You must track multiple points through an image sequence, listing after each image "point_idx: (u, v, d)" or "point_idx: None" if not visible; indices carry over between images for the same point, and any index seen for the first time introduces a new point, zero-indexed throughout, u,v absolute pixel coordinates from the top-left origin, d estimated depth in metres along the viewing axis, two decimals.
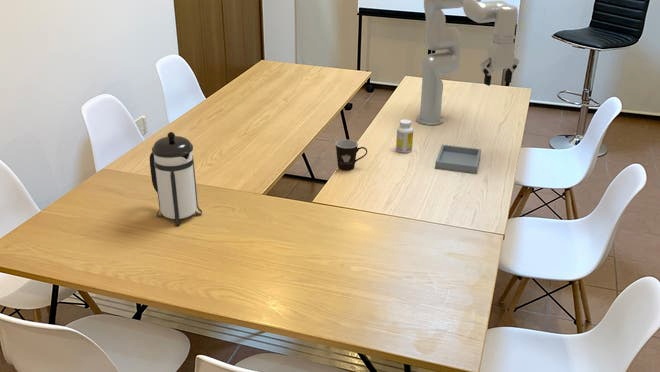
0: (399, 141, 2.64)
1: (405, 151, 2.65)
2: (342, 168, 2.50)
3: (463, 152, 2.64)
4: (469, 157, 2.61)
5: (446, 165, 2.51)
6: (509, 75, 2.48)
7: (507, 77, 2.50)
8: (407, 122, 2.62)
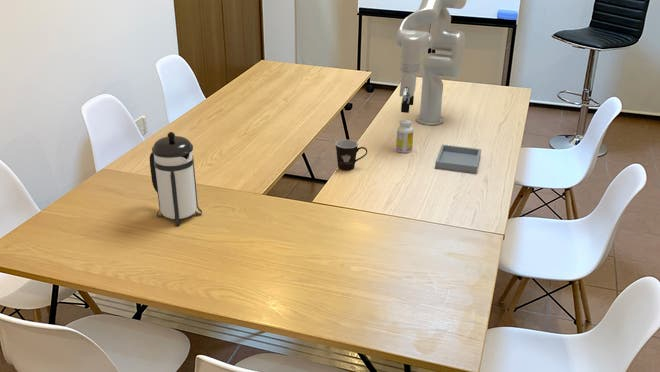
0: (399, 141, 2.64)
1: (405, 151, 2.65)
2: (342, 168, 2.50)
3: (463, 152, 2.64)
4: (469, 157, 2.61)
5: (446, 165, 2.51)
6: (411, 98, 2.62)
7: (409, 100, 2.63)
8: (407, 122, 2.62)
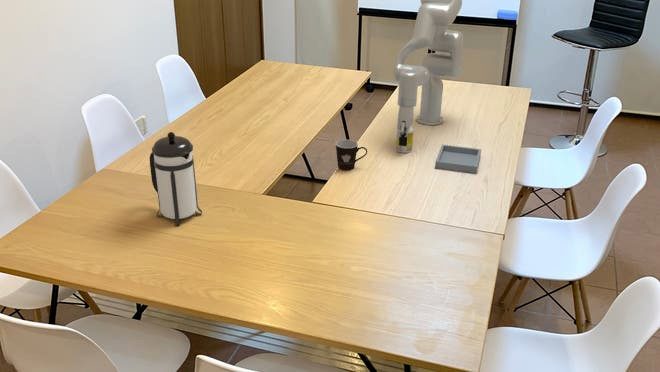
0: None
1: (405, 151, 2.65)
2: (342, 168, 2.50)
3: (463, 152, 2.64)
4: (469, 157, 2.61)
5: (446, 165, 2.51)
6: None
7: None
8: None
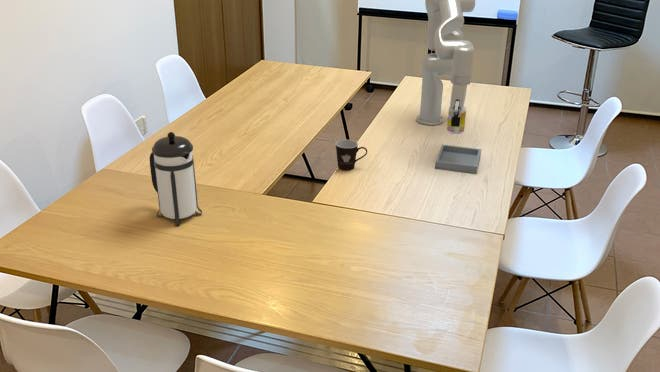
0: None
1: (457, 132, 2.50)
2: (342, 168, 2.50)
3: (463, 152, 2.64)
4: (469, 157, 2.61)
5: (446, 165, 2.51)
6: None
7: None
8: None
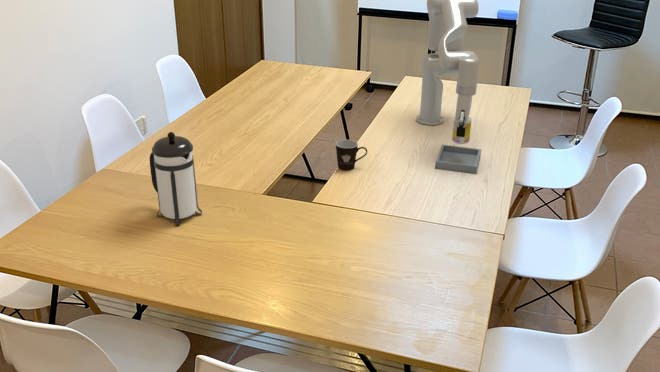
0: None
1: (462, 142, 2.51)
2: (342, 168, 2.50)
3: (463, 152, 2.64)
4: (469, 157, 2.61)
5: (446, 165, 2.51)
6: None
7: None
8: None
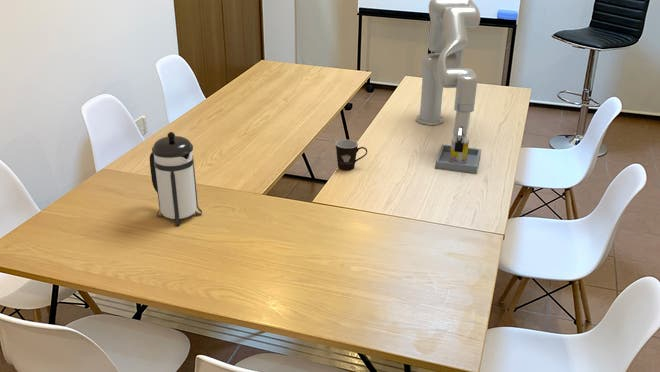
0: (454, 151, 2.53)
1: (460, 162, 2.55)
2: (342, 168, 2.50)
3: None
4: (469, 157, 2.61)
5: (446, 165, 2.51)
6: None
7: None
8: None
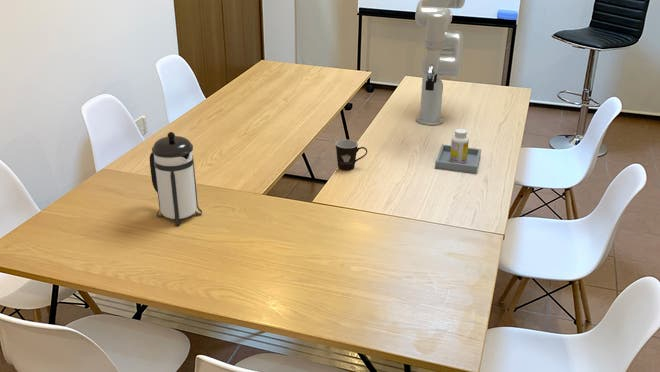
0: (454, 151, 2.53)
1: (460, 162, 2.55)
2: (342, 168, 2.50)
3: None
4: (469, 157, 2.61)
5: (446, 165, 2.51)
6: (435, 76, 2.62)
7: (432, 78, 2.62)
8: (463, 132, 2.51)
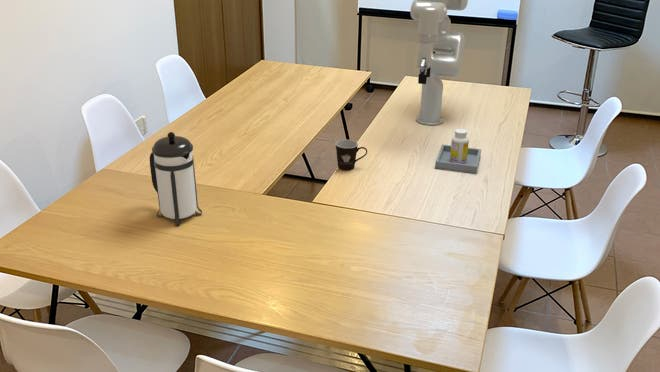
0: (454, 151, 2.53)
1: (460, 162, 2.55)
2: (342, 168, 2.50)
3: None
4: (469, 157, 2.61)
5: (446, 165, 2.51)
6: (428, 70, 2.64)
7: (426, 72, 2.64)
8: (463, 132, 2.51)
